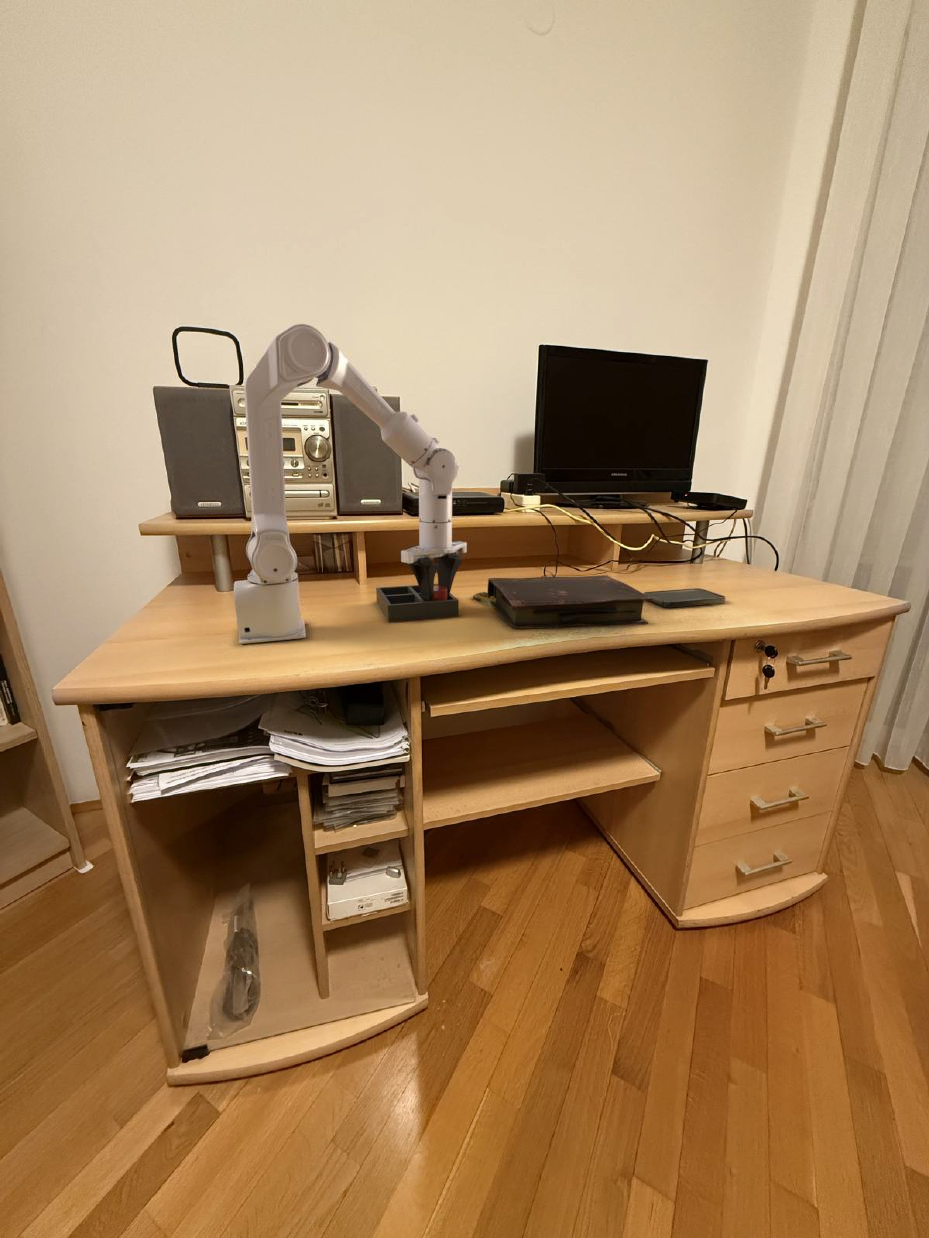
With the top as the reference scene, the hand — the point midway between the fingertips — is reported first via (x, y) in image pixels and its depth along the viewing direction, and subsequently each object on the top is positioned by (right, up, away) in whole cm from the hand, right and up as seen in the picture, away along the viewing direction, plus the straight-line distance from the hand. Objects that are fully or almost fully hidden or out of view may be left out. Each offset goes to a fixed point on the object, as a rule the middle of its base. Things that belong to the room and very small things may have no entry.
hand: (435, 596), depth 89 cm
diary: (+24, -3, +3) cm, 24 cm away
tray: (-4, -2, +3) cm, 5 cm away
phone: (+50, 0, +11) cm, 51 cm away
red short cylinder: (0, -1, 0) cm, 1 cm away
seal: (+14, -1, +9) cm, 17 cm away
